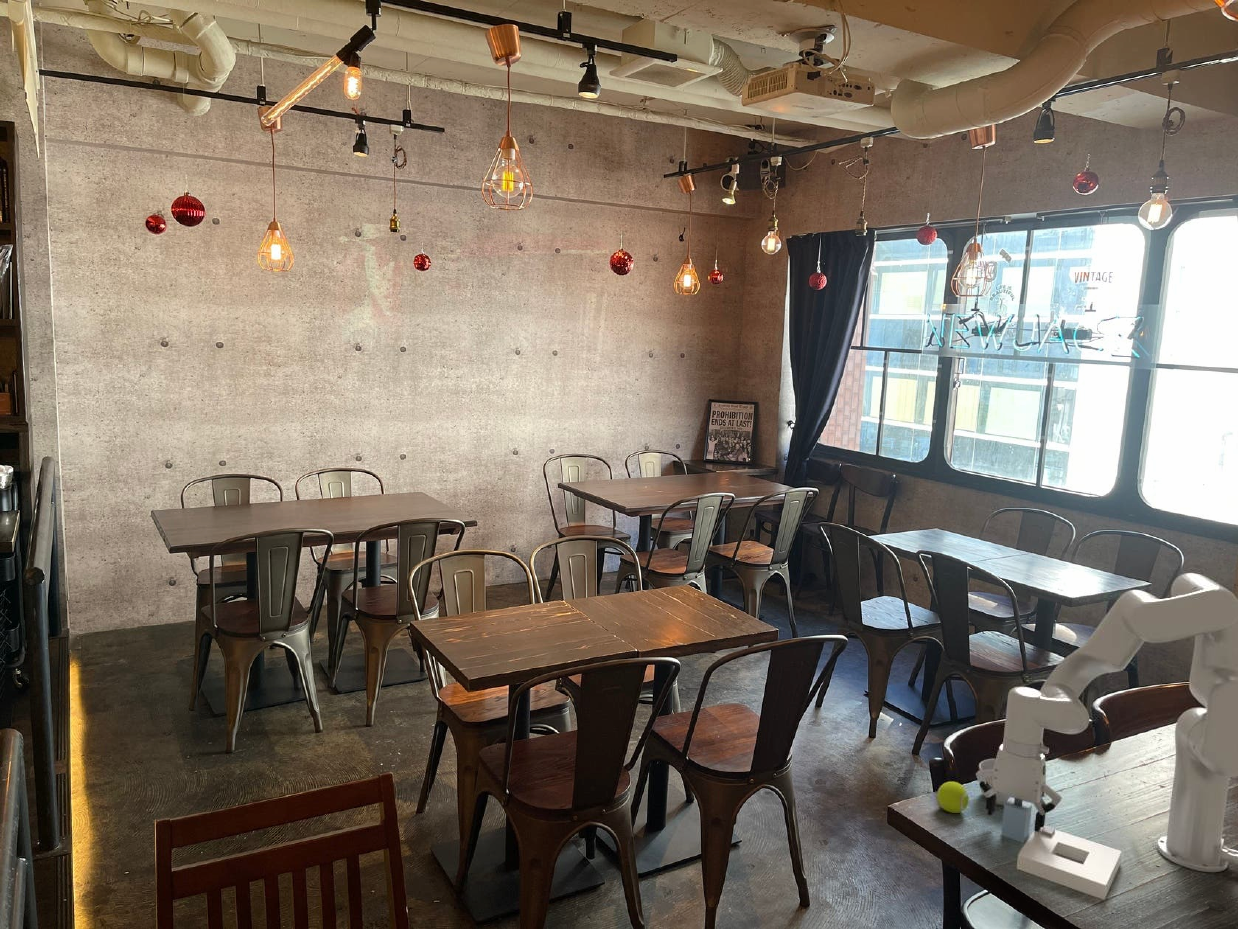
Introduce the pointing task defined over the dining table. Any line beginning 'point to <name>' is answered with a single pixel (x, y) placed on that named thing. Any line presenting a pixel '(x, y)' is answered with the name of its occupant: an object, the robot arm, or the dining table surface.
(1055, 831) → the socket
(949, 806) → the tennis ball
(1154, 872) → the dining table surface
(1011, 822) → the plug
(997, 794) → the teacup
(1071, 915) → the dining table surface
